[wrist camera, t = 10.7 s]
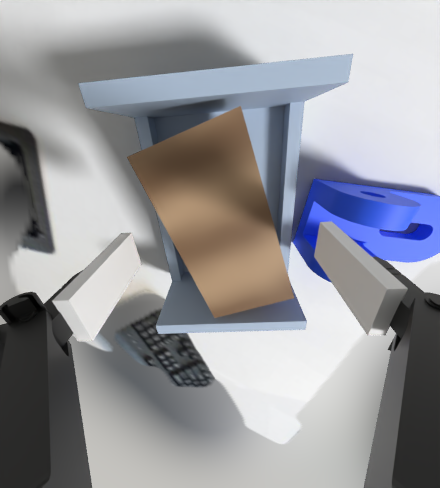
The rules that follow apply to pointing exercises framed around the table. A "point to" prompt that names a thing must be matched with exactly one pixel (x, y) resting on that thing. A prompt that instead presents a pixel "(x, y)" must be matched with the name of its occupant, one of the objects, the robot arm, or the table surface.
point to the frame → (264, 146)
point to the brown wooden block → (217, 213)
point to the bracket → (371, 221)
